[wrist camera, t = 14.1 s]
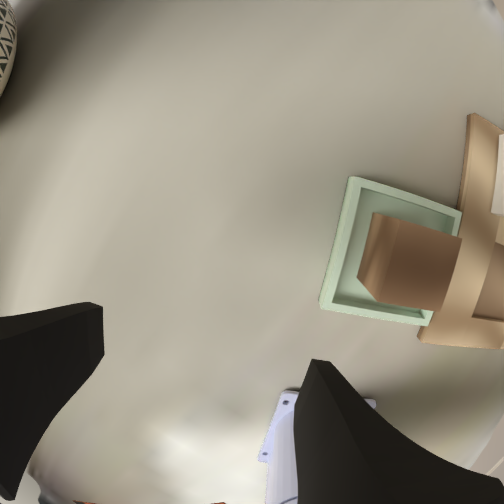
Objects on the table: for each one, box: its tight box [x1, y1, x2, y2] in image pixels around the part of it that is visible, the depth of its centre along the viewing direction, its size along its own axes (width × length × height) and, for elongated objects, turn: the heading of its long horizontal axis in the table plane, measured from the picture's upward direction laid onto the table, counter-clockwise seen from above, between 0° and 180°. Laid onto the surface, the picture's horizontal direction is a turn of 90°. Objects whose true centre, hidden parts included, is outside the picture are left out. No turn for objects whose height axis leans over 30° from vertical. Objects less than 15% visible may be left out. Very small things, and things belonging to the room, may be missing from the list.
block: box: [356, 212, 462, 312], centre depth 15 cm, size 4×4×4 cm
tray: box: [318, 176, 462, 326], centre depth 17 cm, size 8×8×2 cm
